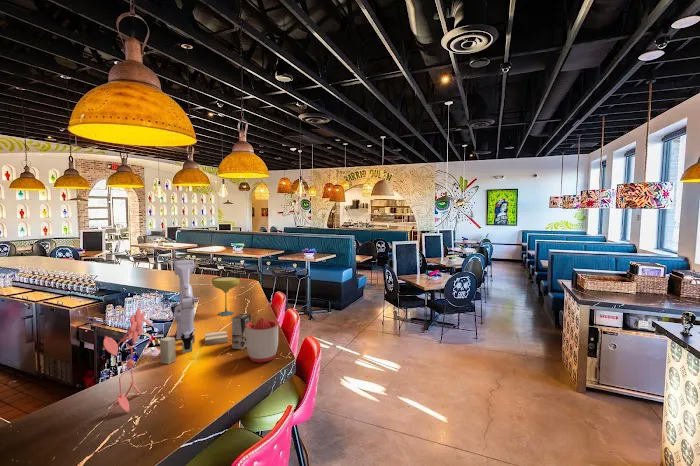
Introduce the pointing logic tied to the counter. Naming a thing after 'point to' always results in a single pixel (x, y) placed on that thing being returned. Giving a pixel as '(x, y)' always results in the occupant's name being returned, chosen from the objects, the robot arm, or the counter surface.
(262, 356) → the citrus juicer
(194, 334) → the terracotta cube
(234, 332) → the coffee box
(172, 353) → the box
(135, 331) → the pink thin branching piece
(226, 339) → the maple board
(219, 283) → the cocktail glass
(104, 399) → the counter surface
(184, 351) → the sage cube
